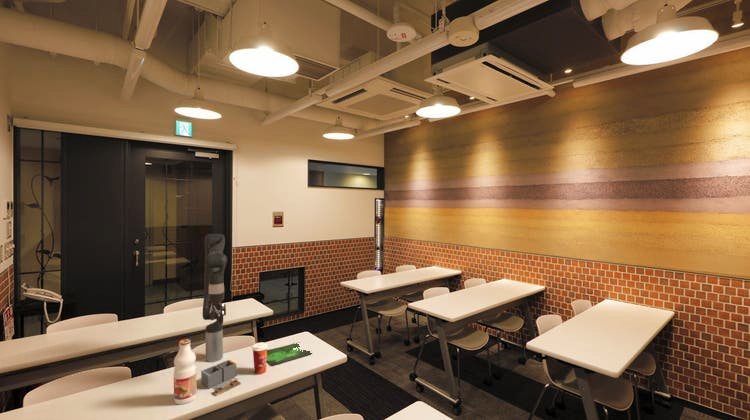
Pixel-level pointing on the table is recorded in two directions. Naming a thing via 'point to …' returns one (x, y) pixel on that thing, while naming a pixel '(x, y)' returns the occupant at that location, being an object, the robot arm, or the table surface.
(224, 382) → the card
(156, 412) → the table surface
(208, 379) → the tube
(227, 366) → the tube
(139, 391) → the table surface
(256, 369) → the coffee cup
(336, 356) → the table surface
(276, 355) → the mouse mat
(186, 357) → the fruit juice
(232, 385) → the walnut seat rail
